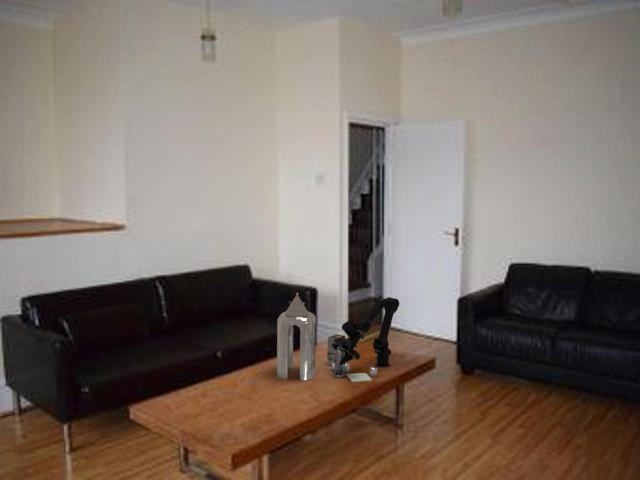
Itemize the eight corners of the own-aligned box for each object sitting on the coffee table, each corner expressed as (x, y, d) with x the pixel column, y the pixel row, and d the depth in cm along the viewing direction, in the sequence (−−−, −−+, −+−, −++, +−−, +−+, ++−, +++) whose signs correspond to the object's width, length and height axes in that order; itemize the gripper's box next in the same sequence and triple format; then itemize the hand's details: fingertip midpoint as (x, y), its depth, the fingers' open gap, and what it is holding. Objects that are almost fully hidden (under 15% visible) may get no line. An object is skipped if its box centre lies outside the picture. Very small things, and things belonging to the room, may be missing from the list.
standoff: (342, 373, 317) (343, 348, 315) (345, 377, 311) (346, 351, 310) (332, 374, 316) (332, 348, 314) (334, 378, 310) (335, 352, 308)
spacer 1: (337, 368, 327) (338, 361, 326) (339, 370, 323) (339, 363, 322) (331, 368, 326) (331, 361, 325) (332, 370, 322) (332, 363, 321)
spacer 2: (348, 369, 324) (348, 362, 323) (350, 372, 320) (350, 365, 320) (341, 370, 323) (341, 363, 323) (343, 372, 319) (343, 365, 319)
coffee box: (335, 366, 329) (336, 339, 327) (326, 364, 333) (327, 336, 331) (345, 362, 336) (345, 335, 335) (336, 360, 340) (336, 333, 338)
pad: (365, 373, 317) (365, 372, 317) (372, 380, 307) (372, 379, 307) (346, 375, 315) (346, 374, 315) (352, 382, 304) (352, 381, 304)
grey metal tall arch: (316, 368, 325) (317, 290, 320) (312, 381, 305) (313, 297, 300) (281, 366, 327) (281, 288, 322) (274, 379, 307) (275, 296, 302)
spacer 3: (375, 373, 318) (375, 366, 318) (377, 376, 314) (378, 369, 314) (368, 374, 317) (368, 367, 317) (371, 376, 313) (371, 369, 313)
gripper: (334, 328, 320) (318, 351, 315) (356, 336, 306) (340, 360, 300) (344, 339, 326) (329, 362, 321) (367, 347, 312) (351, 371, 306)
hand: (337, 363), depth 312 cm, fingers closed on standoff, 4 cm apart
